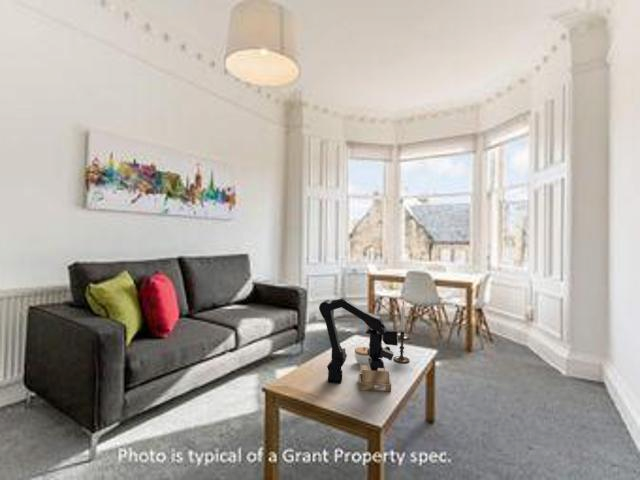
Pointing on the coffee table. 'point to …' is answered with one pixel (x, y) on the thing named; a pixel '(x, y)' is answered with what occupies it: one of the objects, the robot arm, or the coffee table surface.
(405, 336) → the candlestick
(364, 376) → the near flap
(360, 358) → the lidded jar
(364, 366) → the far flap
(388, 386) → the carton
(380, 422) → the coffee table surface
